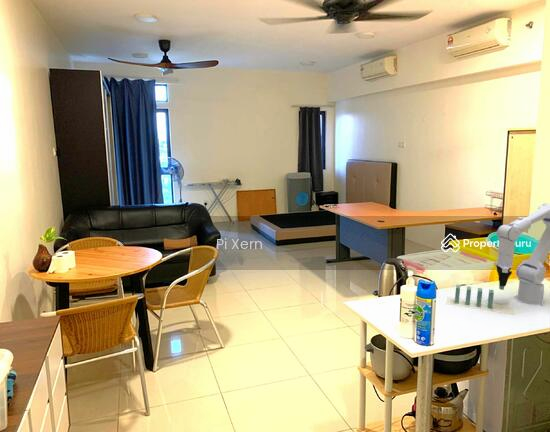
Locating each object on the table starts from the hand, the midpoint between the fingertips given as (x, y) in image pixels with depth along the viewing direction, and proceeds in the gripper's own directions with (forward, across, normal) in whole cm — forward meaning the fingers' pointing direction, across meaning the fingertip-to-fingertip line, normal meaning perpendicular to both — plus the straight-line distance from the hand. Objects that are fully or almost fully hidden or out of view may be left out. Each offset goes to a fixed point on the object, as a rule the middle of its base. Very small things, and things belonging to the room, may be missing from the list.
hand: (502, 284), depth 178 cm
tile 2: (+9, +5, -4) cm, 11 cm away
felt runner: (+9, +5, -8) cm, 13 cm away
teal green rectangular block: (+2, 0, 0) cm, 2 cm away
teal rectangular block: (+9, +5, -8) cm, 13 cm away
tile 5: (+9, +5, -17) cm, 20 cm away
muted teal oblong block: (+9, +5, -13) cm, 16 cm away
